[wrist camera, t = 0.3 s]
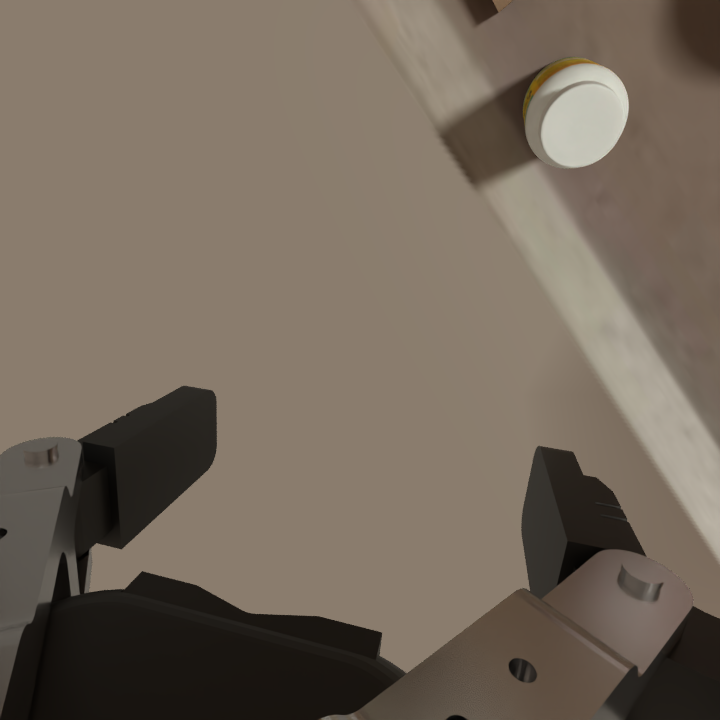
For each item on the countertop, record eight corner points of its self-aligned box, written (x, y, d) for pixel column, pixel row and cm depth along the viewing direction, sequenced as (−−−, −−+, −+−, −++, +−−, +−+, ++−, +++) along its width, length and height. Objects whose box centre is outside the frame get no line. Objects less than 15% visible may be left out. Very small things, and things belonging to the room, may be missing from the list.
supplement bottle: (614, 126, 33) (647, 161, 25) (532, 156, 35) (539, 196, 27) (600, 39, 30) (632, 47, 23) (513, 77, 32) (515, 97, 25)
